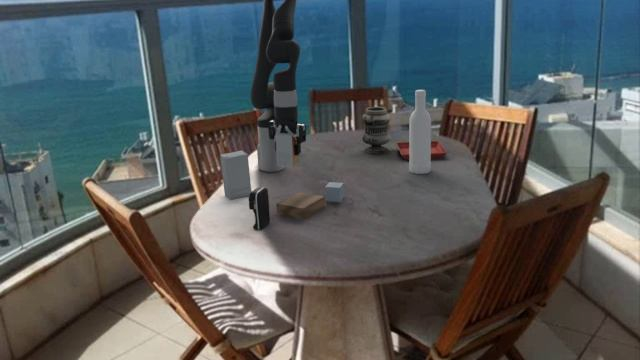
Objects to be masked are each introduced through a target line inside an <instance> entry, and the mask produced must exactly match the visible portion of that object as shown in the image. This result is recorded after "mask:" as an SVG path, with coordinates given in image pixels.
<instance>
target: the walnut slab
mask: <svg viewBox="0 0 640 360" xmlns="http://www.w3.org/2000/svg"><path fill="white" fill-rule="evenodd" d="M275 204H276V215H277V214H278V215H279V216H282V215H286V216H285V217H287V216H290V217H289V218H292V217H294V218H293V219H297V218H298V220H302V219H303V220H305V219H307V218H310V217H311V216H313V215H314V214H316V213H317V212H319V211H322V210H323V209H324V208H326V199H325V195H317V194H312V193H306V192H300V191H297V192H296V193H293V194H292V195H290V196H288V197H286V198H285V199H283V200H280V201H279V202H276V203H275ZM278 215H277V216H278ZM303 220H302V221H303Z"/></svg>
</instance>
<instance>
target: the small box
mask: <svg viewBox="0 0 640 360" xmlns="http://www.w3.org/2000/svg"><path fill="white" fill-rule="evenodd" d="M297 131H298V129H297ZM298 132H299V131H298ZM293 135H295V133H293ZM293 135H291V134H288V133H278V134H277V135H276V153H277V166H284V167H294V166H295V165H296V164H297V163H298V162H299V160H300V154H299V155H297V156H296V155H294V138H293Z"/></svg>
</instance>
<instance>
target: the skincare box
mask: <svg viewBox="0 0 640 360" xmlns="http://www.w3.org/2000/svg"><path fill="white" fill-rule="evenodd" d="M219 157H220V158H219V159H220V168H221V175H222V182H223V183H222V184H223V190H224V195H225V196H226V197H227V198H228V199H229V200H233V199H239V198H243V197H249V194H250V193H251V192H252V185H251V184H252V183H251V175H250V163H249V155H248V153H247V152H245V151H243V150H237V151H232V152H228V153H222V154H219Z"/></svg>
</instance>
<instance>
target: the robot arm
mask: <svg viewBox="0 0 640 360" xmlns="http://www.w3.org/2000/svg"><path fill="white" fill-rule="evenodd" d="M296 5H297V0H284V1H283V3H281V5H280V6H279V7H278V8H275V5H274V0H263V5H262V16H261V25H260V29H259V37H258V47H257V56H256V62H255V63H256V64H255V69H254V74H253V79H252V82H251V83H252V84H251V88H250V102H251V104H252V106H253V108H254V109H256V110H265V111H264V112H263V114H261V115H260V116H259V117H258V118H257V120H256V125H257V137H258V138H257V139H258V144H257V145H256V153H257V167H258V168H257V169H259V170H261V171H262V172H268V173H269V172H271V173H273V172H274V173H275V172H279V171H282V170H284V169H285V166H277V153H276V135H277V134H278V133H288V134H291V135H293V133H295V135H293V138H294V155H296V156H297V155H299V156H300V154H301V153H302V151H301V150H302V148H301V147H302V146H301V145H302V144H303V143H305V142H306V141H307V125H306V123H302V124H301V123H299V122H298V118H299V113H298V112H299V111H298V93H297V83H296V80H297V78H296V76H297V75H296V74H297V68H298V63H299V58H300V54H301V47H300V44H299V43H298V42H297V41H296V40H293V39H294V36H295V12H296ZM278 64H289V65H288V67H287V68H285V69H281V70H278V71H275V72H274V73H273V82H269V81H270V77H271V75H272V72H273V71H274V69H275V67H276V66H277V65H278ZM297 130H298V131H297Z"/></svg>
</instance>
